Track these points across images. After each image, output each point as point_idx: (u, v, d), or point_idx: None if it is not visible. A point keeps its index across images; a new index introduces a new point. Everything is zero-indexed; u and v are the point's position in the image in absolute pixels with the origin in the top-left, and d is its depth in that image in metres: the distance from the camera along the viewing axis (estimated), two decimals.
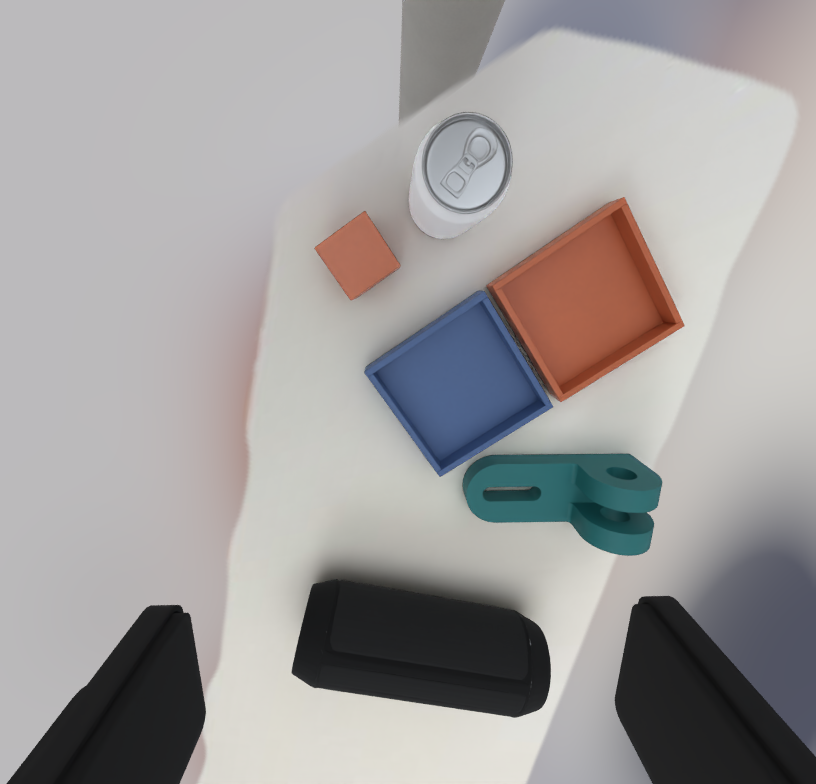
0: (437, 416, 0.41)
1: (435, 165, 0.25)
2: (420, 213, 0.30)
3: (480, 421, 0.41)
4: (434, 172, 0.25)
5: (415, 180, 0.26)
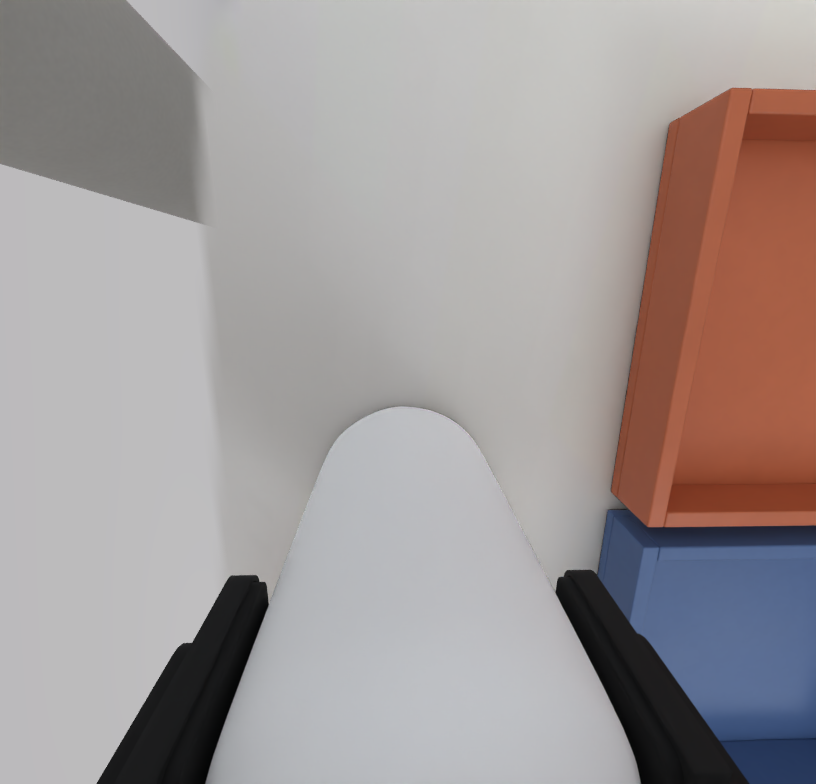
0: (754, 700, 0.19)
1: None
2: None
3: None
4: None
5: None
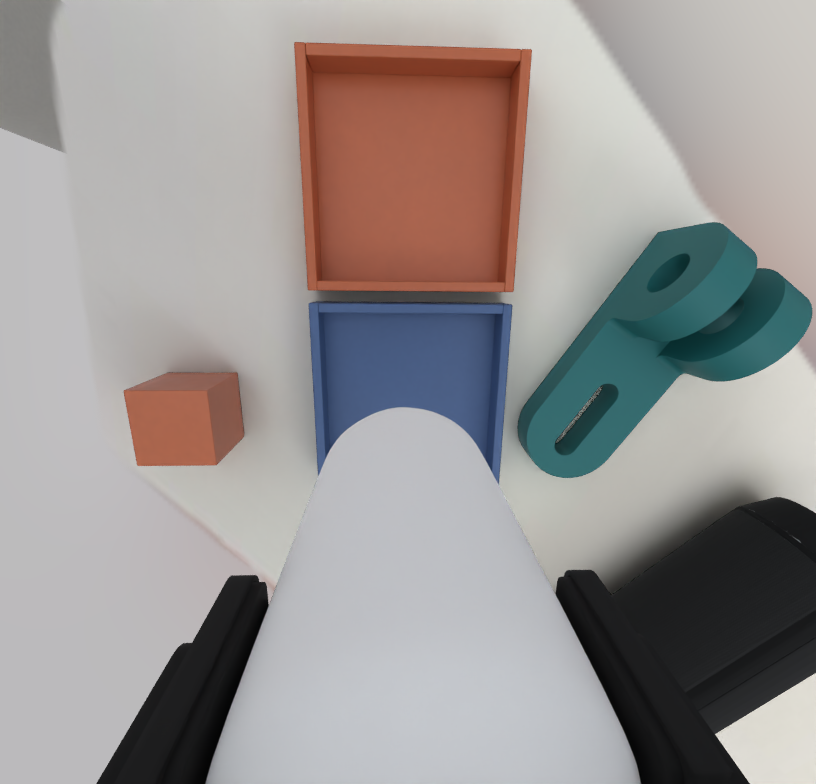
0: None
1: None
2: None
3: (472, 395, 0.30)
4: None
5: None
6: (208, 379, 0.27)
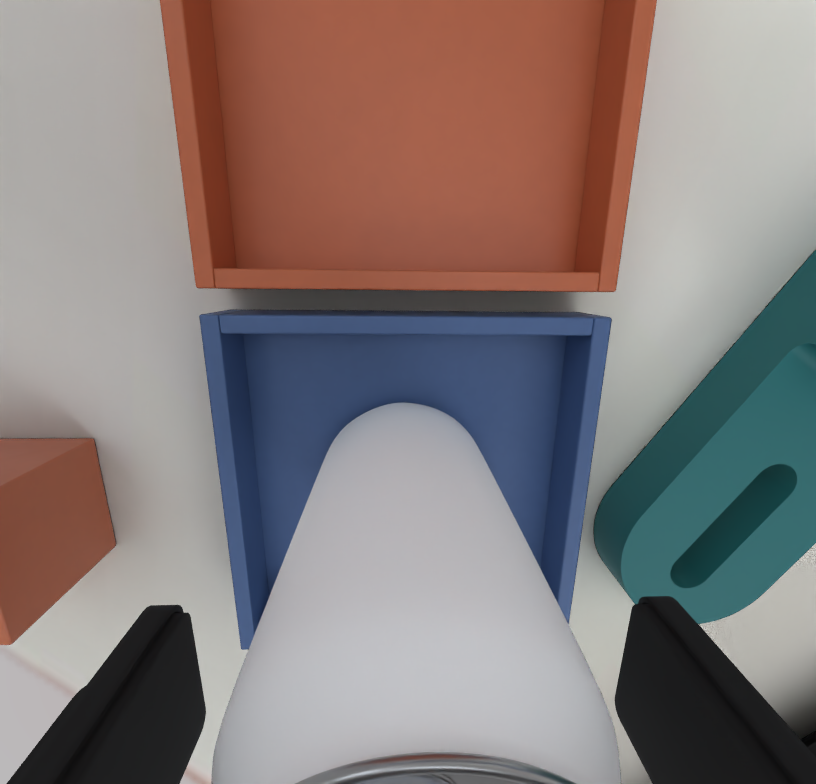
0: None
1: None
2: None
3: (518, 477, 0.17)
4: None
5: None
6: (15, 461, 0.14)
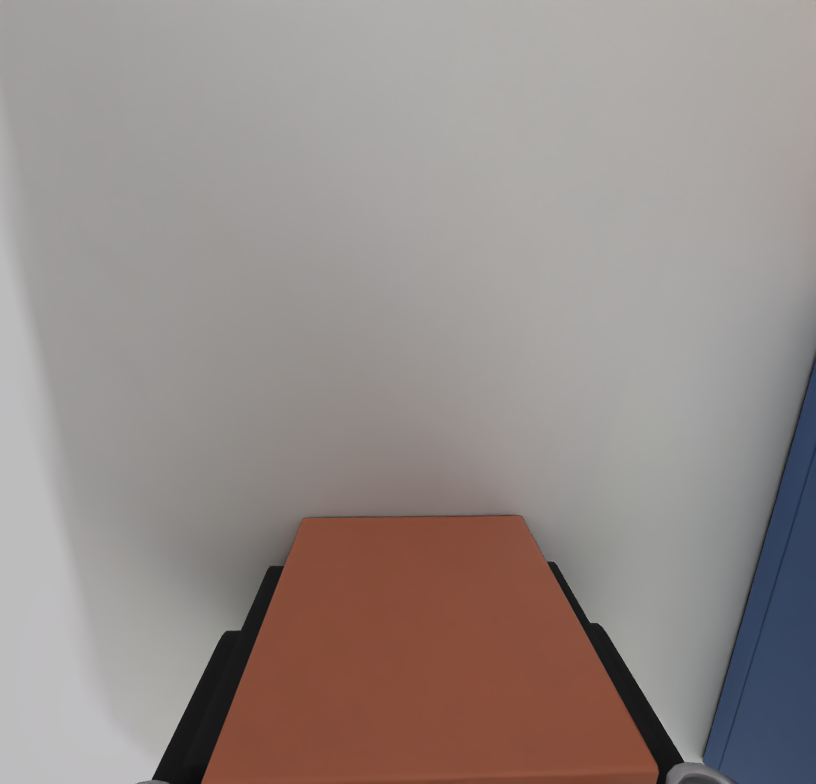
0: None
1: None
2: None
3: None
4: None
5: None
6: (496, 584, 0.07)
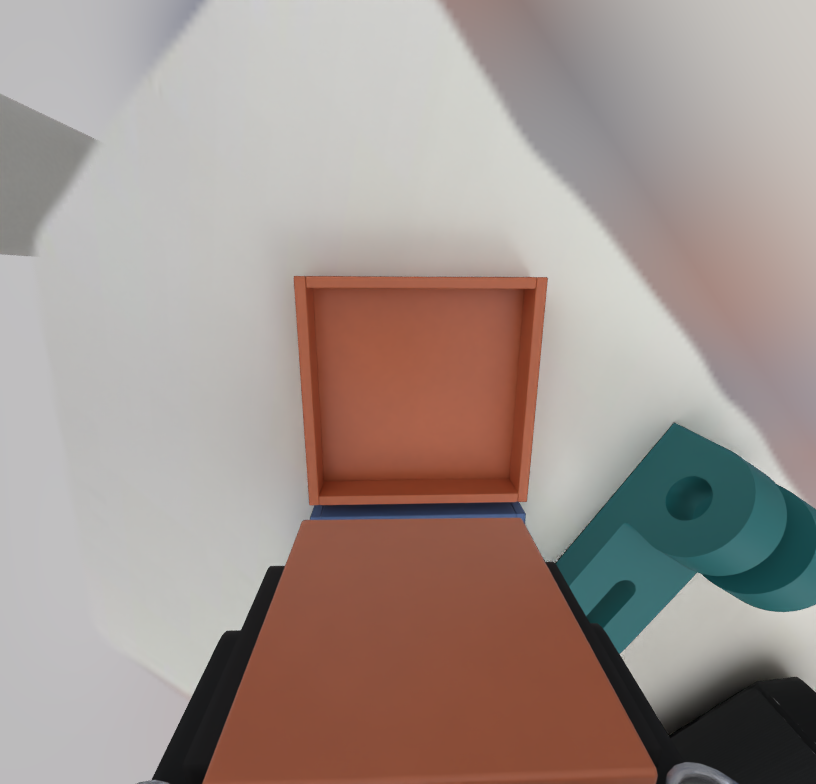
0: None
1: None
2: None
3: None
4: None
5: None
6: (496, 587, 0.07)
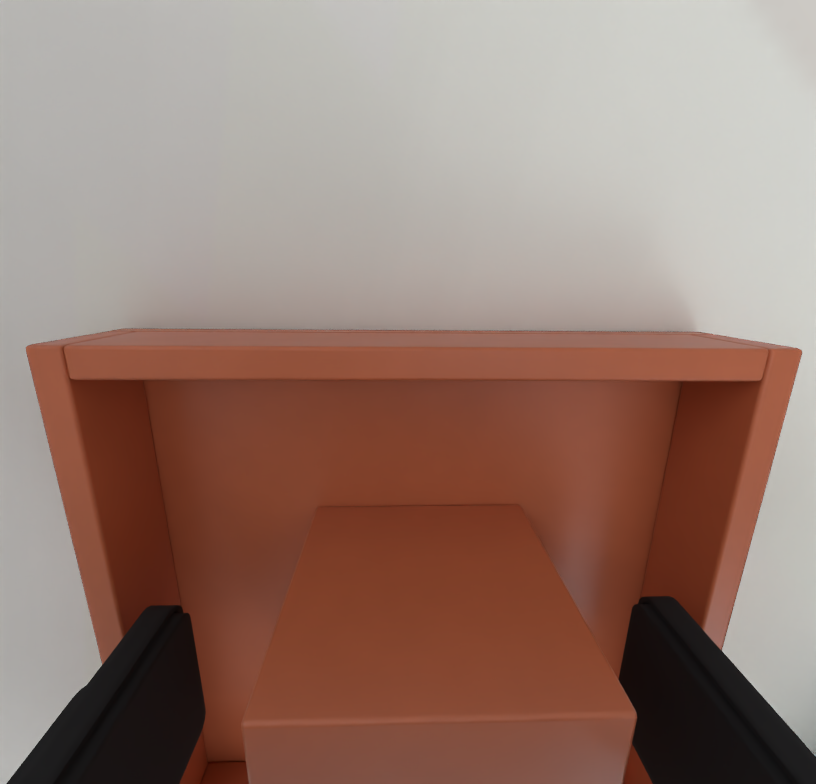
0: None
1: None
2: None
3: None
4: None
5: None
6: (496, 564, 0.08)
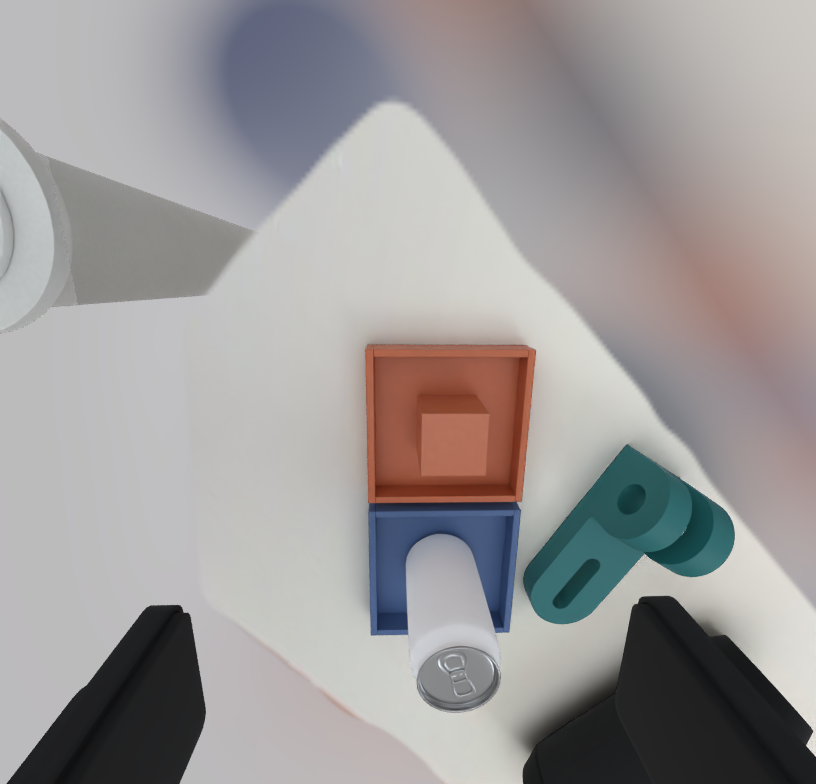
0: None
1: (441, 695, 0.27)
2: None
3: (488, 561, 0.38)
4: (445, 698, 0.27)
5: None
6: (467, 402, 0.32)
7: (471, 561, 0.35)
